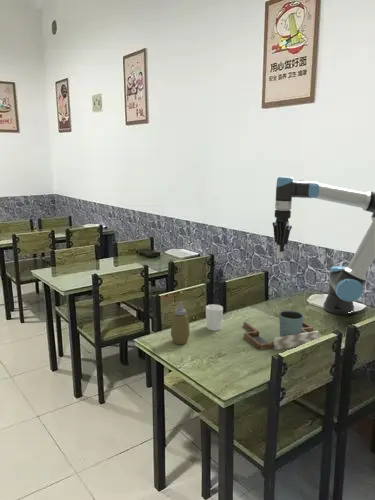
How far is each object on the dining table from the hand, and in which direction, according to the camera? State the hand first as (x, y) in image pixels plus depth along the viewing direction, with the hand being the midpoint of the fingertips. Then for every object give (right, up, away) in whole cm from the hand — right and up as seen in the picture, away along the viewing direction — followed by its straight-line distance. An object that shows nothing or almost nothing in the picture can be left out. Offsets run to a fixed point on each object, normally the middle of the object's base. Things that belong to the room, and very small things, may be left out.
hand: (279, 257), depth 205 cm
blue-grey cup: (-1, -36, -24) cm, 43 cm away
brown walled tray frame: (-4, -34, -17) cm, 38 cm away
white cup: (-33, -32, -12) cm, 48 cm away
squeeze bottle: (-48, -35, -27) cm, 66 cm away
